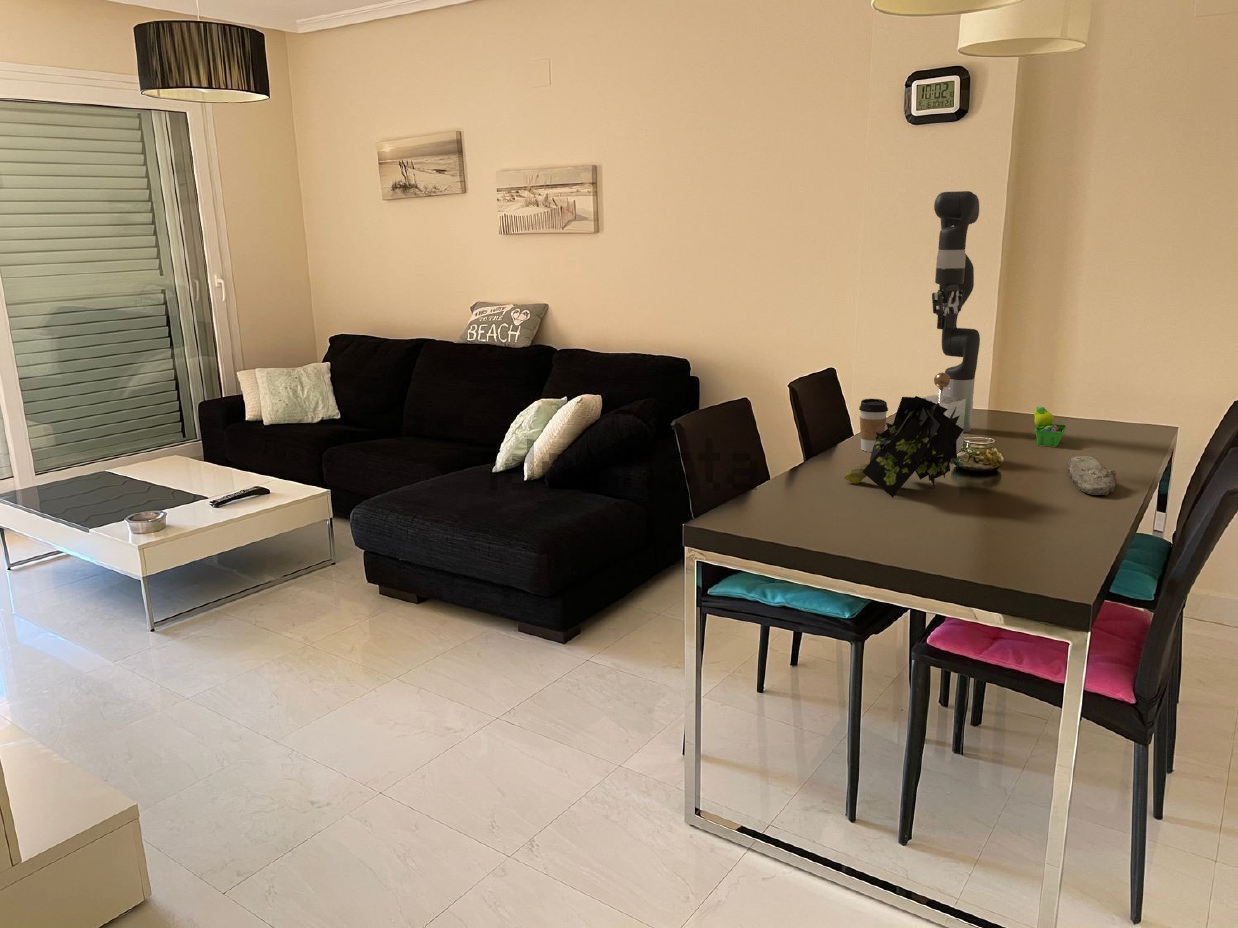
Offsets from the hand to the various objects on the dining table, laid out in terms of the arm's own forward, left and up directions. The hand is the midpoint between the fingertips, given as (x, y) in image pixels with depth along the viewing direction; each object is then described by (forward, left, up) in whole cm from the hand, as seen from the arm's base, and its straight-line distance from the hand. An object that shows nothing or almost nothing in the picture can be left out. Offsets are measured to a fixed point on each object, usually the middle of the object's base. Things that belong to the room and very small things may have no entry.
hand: (945, 328), depth 258 cm
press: (0, 0, -37) cm, 37 cm away
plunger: (0, 0, -35) cm, 35 cm away
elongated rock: (-5, +41, -38) cm, 56 cm away
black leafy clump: (+37, +10, -38) cm, 54 cm away
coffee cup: (+6, -18, -38) cm, 42 cm away
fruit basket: (-39, +15, -38) cm, 56 cm away
